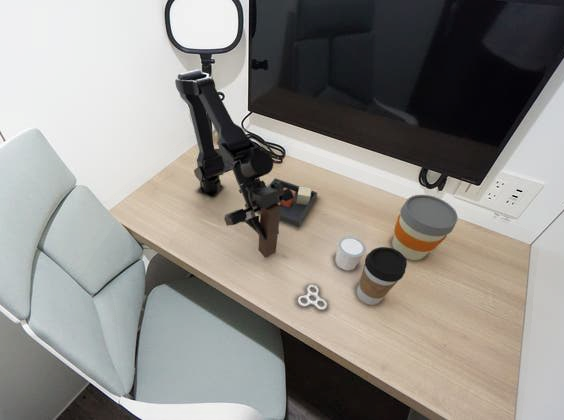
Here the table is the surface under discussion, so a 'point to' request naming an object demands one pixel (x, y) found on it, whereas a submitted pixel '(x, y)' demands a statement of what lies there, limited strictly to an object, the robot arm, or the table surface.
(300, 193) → the cream block
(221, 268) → the table surface
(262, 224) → the brown square post
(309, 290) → the fidget spinner
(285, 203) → the terracotta block
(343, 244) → the white short cylinder
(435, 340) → the table surface
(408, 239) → the reusable coffee cup
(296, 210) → the tray
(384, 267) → the coffee cup
